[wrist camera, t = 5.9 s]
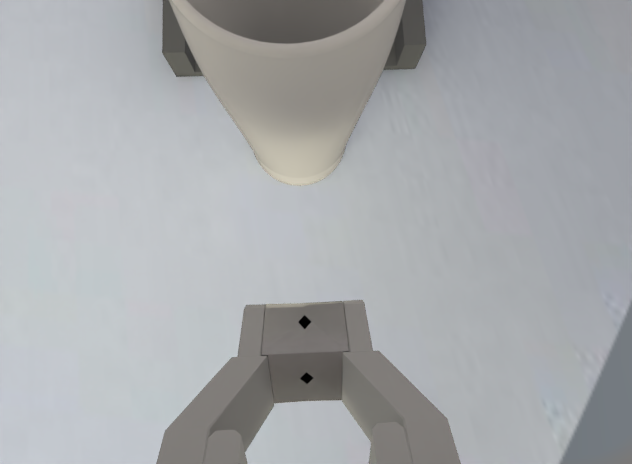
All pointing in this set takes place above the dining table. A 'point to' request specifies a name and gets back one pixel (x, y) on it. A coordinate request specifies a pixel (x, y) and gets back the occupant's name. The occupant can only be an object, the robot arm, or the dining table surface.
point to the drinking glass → (292, 72)
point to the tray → (401, 57)
